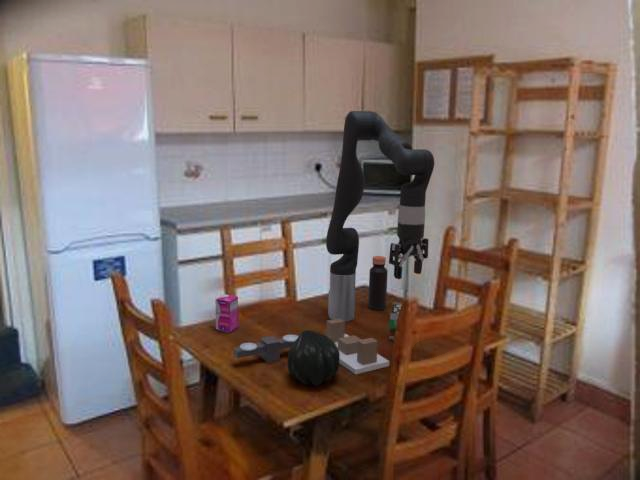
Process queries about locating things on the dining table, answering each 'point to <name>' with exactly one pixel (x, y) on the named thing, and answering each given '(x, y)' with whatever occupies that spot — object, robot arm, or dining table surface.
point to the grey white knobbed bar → (266, 348)
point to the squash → (313, 358)
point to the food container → (394, 319)
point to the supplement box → (226, 313)
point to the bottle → (378, 284)
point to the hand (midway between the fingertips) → (407, 275)
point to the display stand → (355, 349)
